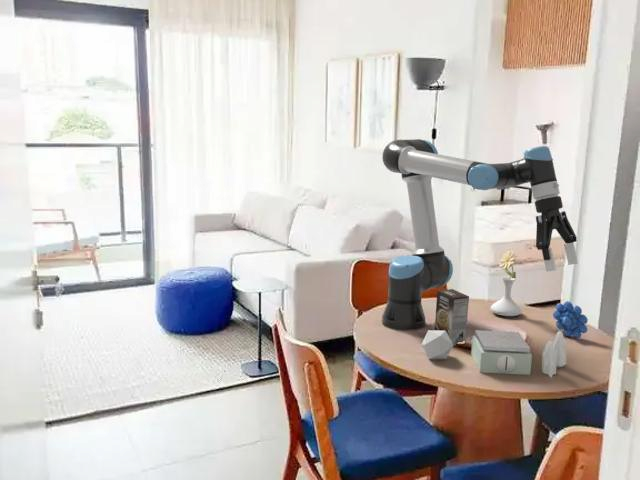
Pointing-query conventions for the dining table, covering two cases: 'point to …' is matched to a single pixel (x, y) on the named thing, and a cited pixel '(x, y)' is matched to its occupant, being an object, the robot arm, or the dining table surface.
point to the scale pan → (501, 341)
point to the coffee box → (452, 314)
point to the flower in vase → (507, 289)
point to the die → (437, 344)
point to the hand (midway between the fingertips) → (562, 267)
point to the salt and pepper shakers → (554, 355)
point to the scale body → (500, 360)
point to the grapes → (570, 319)
